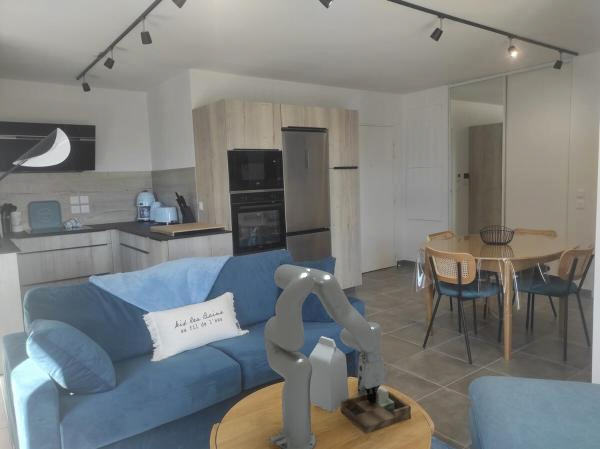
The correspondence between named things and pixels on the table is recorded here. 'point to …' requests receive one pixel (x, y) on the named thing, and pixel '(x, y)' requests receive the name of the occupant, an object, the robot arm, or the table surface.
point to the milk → (328, 375)
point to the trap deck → (375, 412)
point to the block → (381, 395)
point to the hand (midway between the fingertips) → (371, 401)
